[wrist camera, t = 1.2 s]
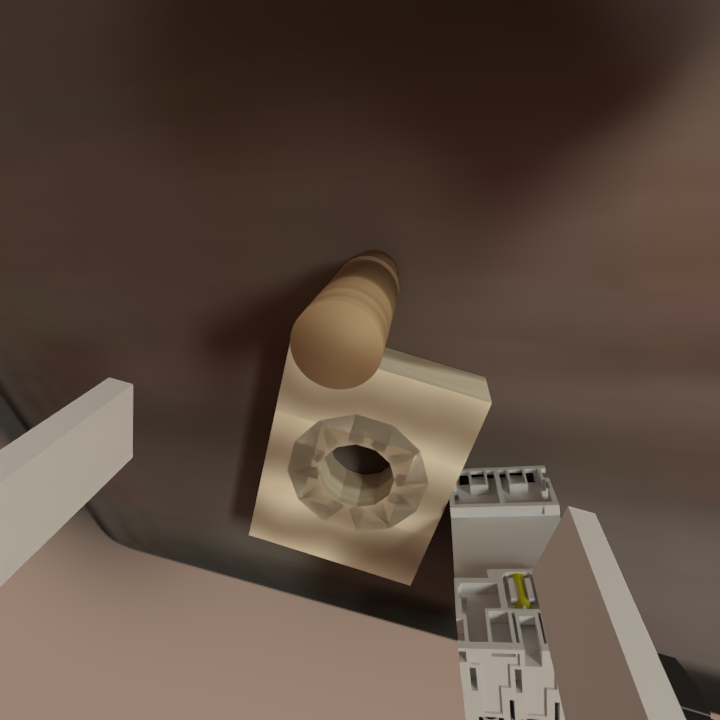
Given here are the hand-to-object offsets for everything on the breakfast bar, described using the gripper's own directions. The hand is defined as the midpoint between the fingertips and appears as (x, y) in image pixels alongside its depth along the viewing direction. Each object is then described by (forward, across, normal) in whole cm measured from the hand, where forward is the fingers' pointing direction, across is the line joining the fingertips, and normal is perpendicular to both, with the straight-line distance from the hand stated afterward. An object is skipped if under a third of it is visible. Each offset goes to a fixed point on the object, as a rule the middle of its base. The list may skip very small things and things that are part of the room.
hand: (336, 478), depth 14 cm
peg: (+21, -2, +1) cm, 21 cm away
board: (+20, +1, -13) cm, 24 cm away
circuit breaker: (+21, +14, -18) cm, 31 cm away
